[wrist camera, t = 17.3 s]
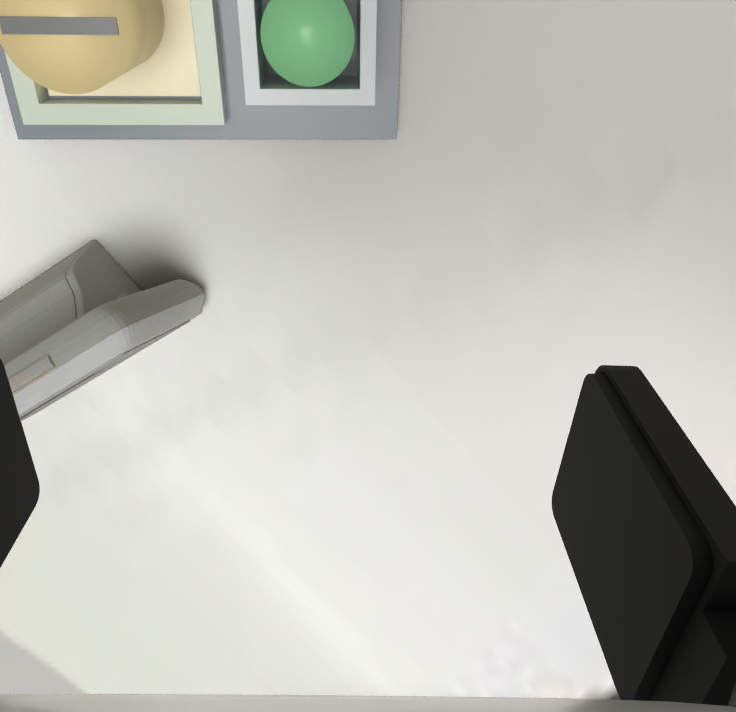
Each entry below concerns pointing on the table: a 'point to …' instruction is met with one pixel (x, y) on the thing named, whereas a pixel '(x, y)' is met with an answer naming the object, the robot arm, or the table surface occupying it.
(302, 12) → the button
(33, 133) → the station
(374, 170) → the table surface
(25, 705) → the robot arm
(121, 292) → the digital clock
